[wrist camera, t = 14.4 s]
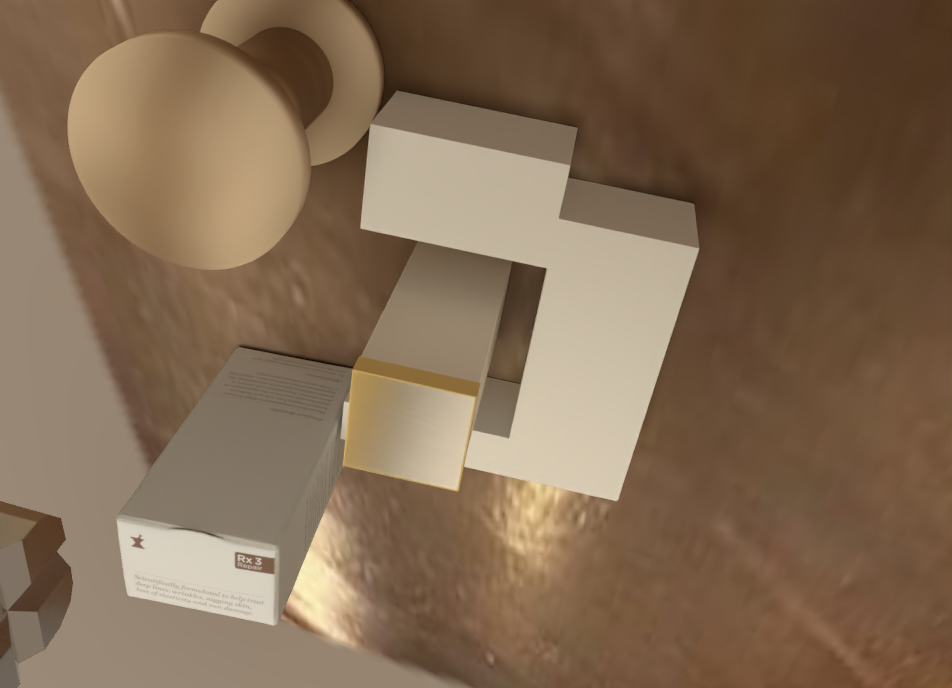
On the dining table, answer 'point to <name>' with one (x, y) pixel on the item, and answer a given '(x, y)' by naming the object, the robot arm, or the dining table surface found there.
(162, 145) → the spool
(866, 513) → the dining table surface
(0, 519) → the robot arm
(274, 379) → the skincare box
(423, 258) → the gold trimmed white carton
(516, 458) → the notched board
